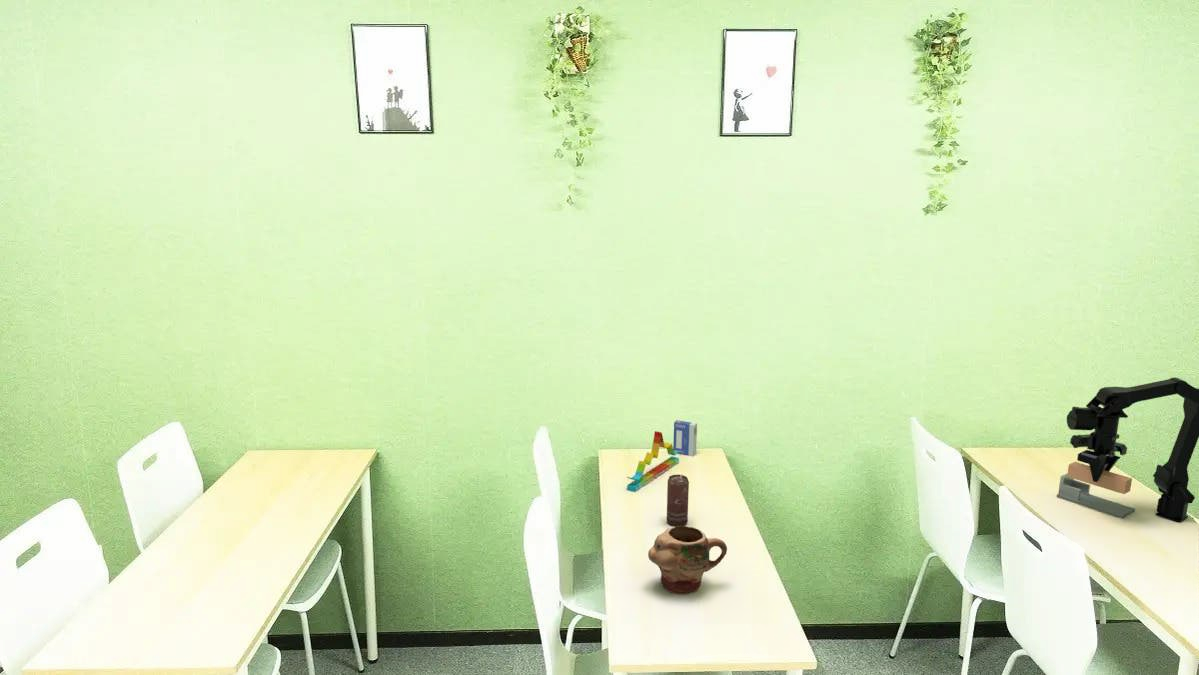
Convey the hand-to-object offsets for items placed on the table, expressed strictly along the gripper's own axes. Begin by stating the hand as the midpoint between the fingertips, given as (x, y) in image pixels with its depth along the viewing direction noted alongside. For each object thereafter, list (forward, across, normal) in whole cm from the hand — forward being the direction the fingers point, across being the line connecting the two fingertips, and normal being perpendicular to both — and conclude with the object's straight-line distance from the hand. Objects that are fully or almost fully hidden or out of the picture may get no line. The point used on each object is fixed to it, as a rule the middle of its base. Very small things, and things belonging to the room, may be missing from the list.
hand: (1098, 479), depth 244 cm
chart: (+11, +91, -99) cm, 135 cm away
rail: (+1, 0, 0) cm, 1 cm away
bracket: (+11, -8, -9) cm, 16 cm away
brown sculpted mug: (+11, +129, -40) cm, 135 cm away
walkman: (+11, +69, -109) cm, 129 cm away
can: (+11, +108, -68) cm, 128 cm away
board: (+11, -8, -3) cm, 14 cm away
